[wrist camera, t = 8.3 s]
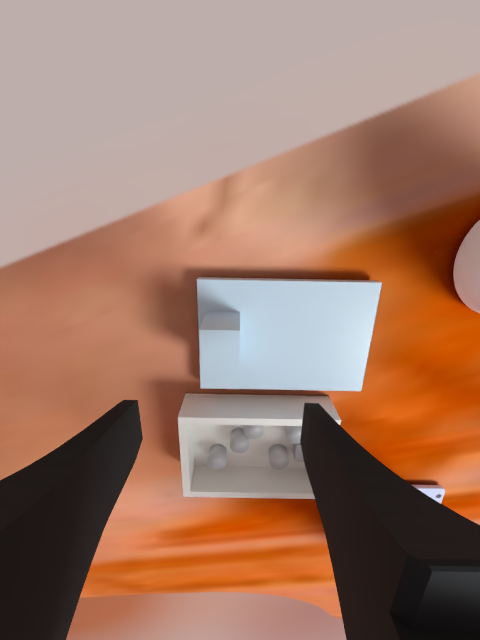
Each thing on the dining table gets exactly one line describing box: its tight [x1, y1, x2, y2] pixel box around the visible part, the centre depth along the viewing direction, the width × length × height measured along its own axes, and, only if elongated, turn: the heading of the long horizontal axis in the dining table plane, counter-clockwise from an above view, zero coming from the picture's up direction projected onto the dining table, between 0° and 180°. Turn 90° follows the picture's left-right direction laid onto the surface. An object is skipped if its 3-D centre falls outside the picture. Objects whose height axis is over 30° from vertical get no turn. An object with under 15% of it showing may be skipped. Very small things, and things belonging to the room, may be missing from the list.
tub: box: [178, 393, 341, 499], centre depth 23 cm, size 8×12×3 cm, turn 89°
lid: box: [197, 277, 382, 391], centre depth 19 cm, size 9×13×4 cm
